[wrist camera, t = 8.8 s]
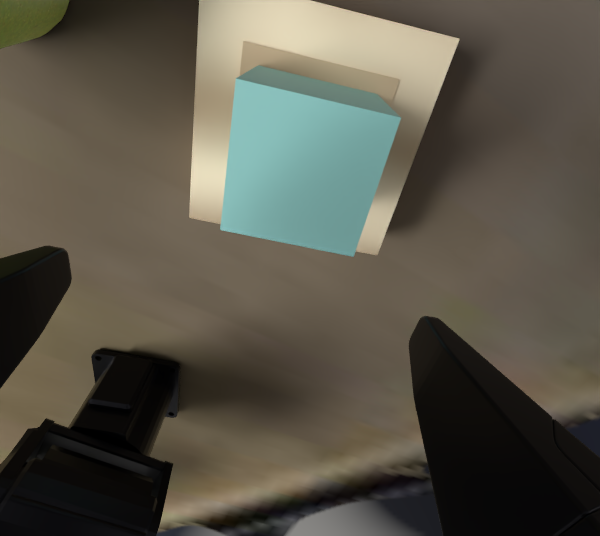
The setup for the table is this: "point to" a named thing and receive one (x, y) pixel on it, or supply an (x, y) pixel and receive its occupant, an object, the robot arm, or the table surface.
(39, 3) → the plant pot
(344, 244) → the teal cube
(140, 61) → the table surface
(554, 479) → the robot arm
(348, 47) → the cream square tray
